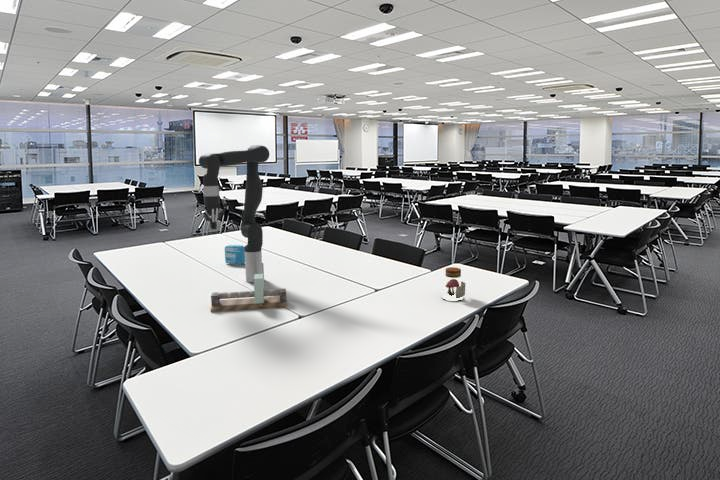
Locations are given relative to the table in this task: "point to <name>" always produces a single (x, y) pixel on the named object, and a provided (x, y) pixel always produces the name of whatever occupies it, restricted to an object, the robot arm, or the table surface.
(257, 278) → the pale green rectangular block
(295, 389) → the table surface
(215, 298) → the pipe stand
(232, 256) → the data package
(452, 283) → the jar with lid
